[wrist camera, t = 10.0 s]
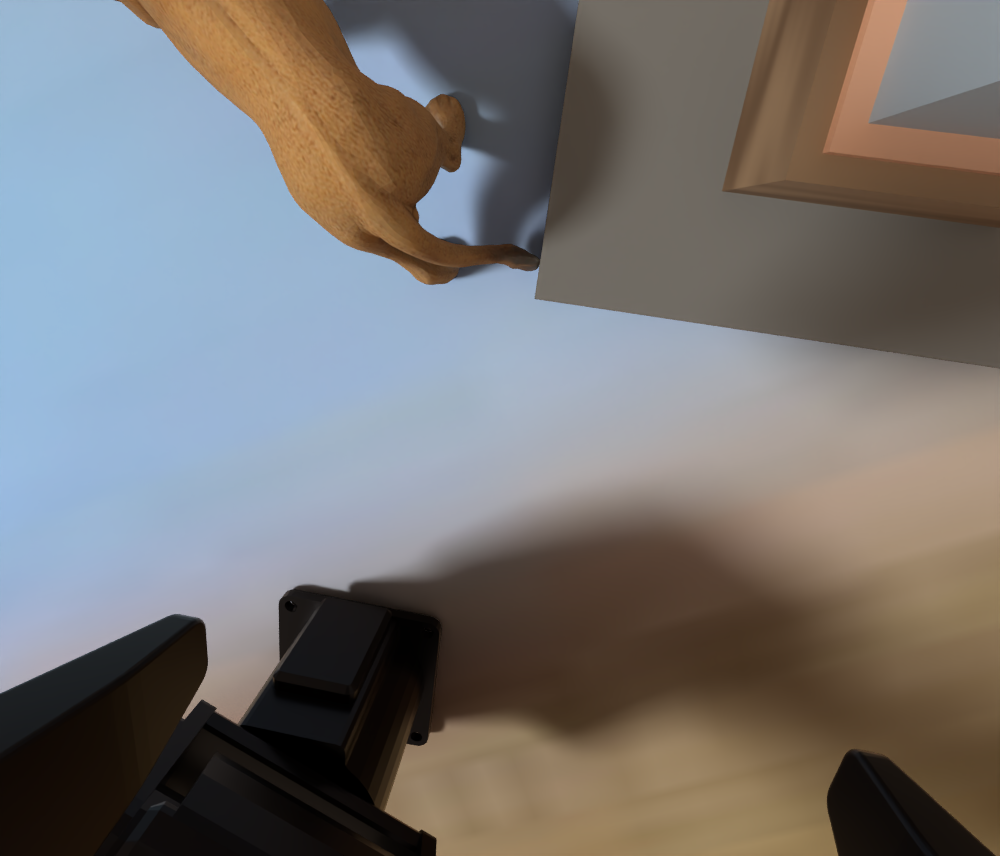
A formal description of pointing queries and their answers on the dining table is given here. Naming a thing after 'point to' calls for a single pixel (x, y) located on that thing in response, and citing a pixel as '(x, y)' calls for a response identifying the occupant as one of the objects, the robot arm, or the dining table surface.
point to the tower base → (725, 243)
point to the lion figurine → (331, 125)
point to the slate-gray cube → (944, 69)
